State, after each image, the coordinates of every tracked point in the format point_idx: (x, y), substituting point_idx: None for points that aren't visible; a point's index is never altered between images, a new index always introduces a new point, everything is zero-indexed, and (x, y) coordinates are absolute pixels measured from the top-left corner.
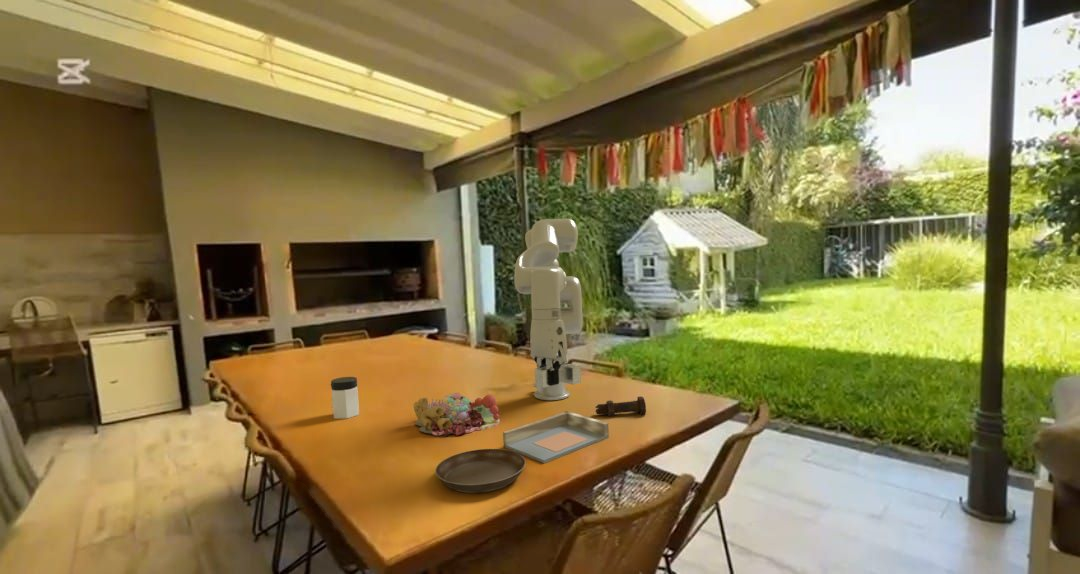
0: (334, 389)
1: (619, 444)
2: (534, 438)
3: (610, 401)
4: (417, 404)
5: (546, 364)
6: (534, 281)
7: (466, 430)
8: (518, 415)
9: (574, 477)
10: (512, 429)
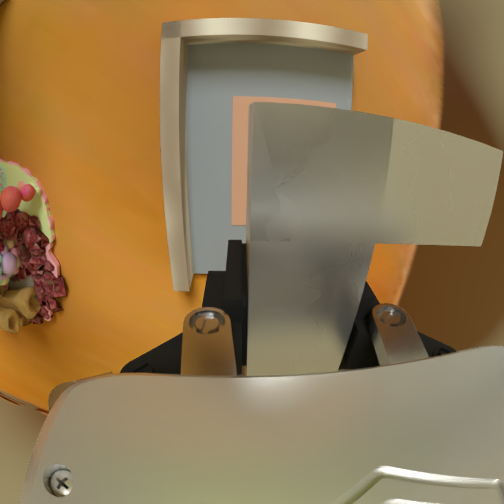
0: None
1: (400, 74)
2: (205, 197)
3: None
4: None
5: (231, 332)
6: None
7: (56, 275)
8: (22, 106)
9: (407, 272)
10: (172, 263)
